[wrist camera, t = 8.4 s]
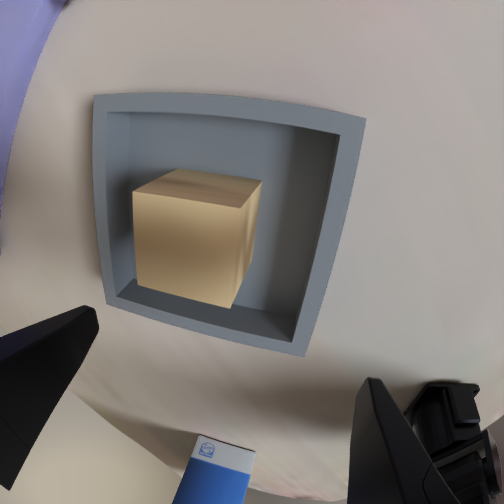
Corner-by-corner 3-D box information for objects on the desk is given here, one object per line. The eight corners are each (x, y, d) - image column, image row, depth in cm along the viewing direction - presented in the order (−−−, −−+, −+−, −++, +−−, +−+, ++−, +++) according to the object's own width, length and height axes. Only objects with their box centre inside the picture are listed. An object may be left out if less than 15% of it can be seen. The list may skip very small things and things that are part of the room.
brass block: (251, 260, 19) (230, 308, 14) (176, 244, 20) (137, 284, 15) (262, 180, 17) (240, 208, 12) (178, 168, 17) (132, 191, 13)
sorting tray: (307, 326, 21) (304, 357, 18) (127, 282, 23) (106, 304, 20) (357, 117, 14) (366, 118, 12) (123, 94, 16) (93, 95, 14)
